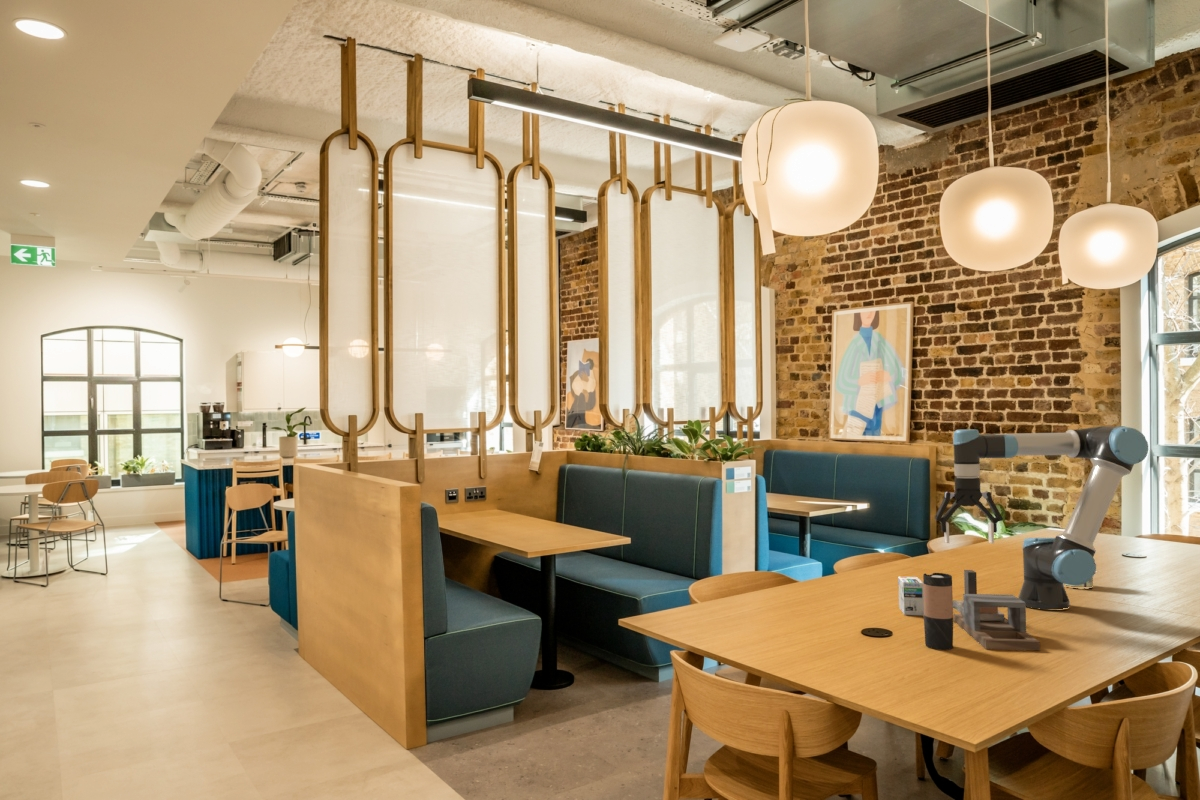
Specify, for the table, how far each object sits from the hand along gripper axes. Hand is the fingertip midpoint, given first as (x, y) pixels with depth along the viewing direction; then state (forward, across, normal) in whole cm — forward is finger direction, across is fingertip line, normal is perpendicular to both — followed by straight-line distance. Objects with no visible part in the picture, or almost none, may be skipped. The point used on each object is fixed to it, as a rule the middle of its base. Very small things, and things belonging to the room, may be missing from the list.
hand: (969, 542), depth 255 cm
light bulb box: (+24, +17, -4) cm, 30 cm away
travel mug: (+24, +19, +36) cm, 47 cm away
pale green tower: (+24, -53, -49) cm, 76 cm away
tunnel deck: (+24, 0, +23) cm, 33 cm away
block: (+21, 0, +12) cm, 24 cm away
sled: (+21, 0, +8) cm, 22 cm away
